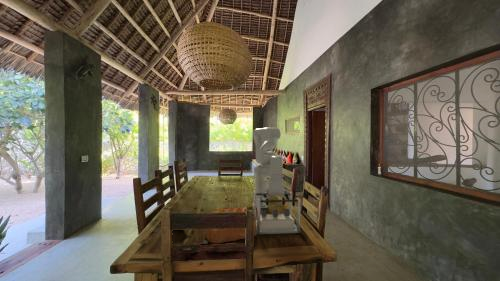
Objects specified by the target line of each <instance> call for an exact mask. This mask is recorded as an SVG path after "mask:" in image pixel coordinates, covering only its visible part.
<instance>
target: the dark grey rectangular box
mask: <svg viewBox="0 0 500 281" xmlns="http://www.w3.org/2000/svg"><path fill="white" fill-rule="evenodd" d="M272 214H273V217H278V214H279V212H278V209H272Z"/></svg>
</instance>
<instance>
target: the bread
mask: <svg viewBox="0 0 500 281" xmlns="http://www.w3.org/2000/svg"><path fill="white" fill-rule="evenodd" d="M247 207H248V206H245V207H244V206H239V207H237V208H236V207H234V206H233V207H232V206H231V207H228V208H219V210H217V209H215V210H213V211H212V212H211V213H222V212H245V211H246V210H247ZM205 233H206V234H205V235H206V239H207V241H208V243H212V244H221V243H222V244H223V243H226V242H233V241H238V240H241V239H242V240H243V239H244V240H245V239H246V238H245V228H224V229H207V228H206V230H205ZM257 235H258V234H257V227H256V222H255V215H254V237H253V238H255V237H256V236H257Z"/></svg>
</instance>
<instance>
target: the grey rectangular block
mask: <svg viewBox="0 0 500 281" xmlns="http://www.w3.org/2000/svg"><path fill="white" fill-rule="evenodd" d="M260 215H261V217H267V215H268V214H267V210H266V209H260Z"/></svg>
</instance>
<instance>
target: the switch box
mask: <svg viewBox="0 0 500 281" xmlns="http://www.w3.org/2000/svg"><path fill="white" fill-rule="evenodd" d="M266 215H267V217H261V214H260V230H282V229H294V224H295V219H294V218H293V216H292V217H291V215H290V214H289V216H284V213H278V217H273V213H272V214H270V213H269V214H266Z"/></svg>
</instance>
